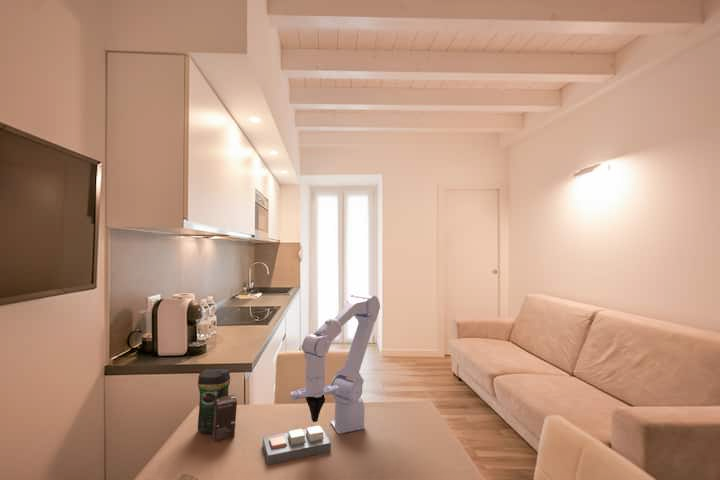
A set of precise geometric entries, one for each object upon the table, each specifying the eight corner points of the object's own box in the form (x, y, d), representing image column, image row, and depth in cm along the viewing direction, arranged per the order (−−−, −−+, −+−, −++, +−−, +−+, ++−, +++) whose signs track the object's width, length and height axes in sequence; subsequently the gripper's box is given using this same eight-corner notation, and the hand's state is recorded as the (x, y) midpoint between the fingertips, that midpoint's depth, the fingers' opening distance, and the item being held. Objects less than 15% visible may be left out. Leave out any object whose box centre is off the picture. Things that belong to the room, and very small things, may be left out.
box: (214, 442, 112) (216, 405, 110) (212, 433, 115) (214, 397, 114) (235, 437, 115) (237, 401, 113) (232, 428, 118) (234, 393, 117)
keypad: (321, 434, 117) (321, 426, 117) (330, 451, 108) (330, 442, 108) (262, 445, 110) (263, 437, 110) (267, 464, 101) (268, 455, 101)
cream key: (319, 435, 114) (319, 425, 114) (322, 441, 110) (323, 431, 110) (306, 437, 112) (306, 427, 112) (309, 444, 109) (309, 434, 109)
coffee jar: (233, 423, 123) (234, 366, 124) (223, 434, 115) (223, 373, 116) (205, 422, 124) (206, 366, 125) (193, 433, 116) (193, 373, 117)
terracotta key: (283, 446, 110) (283, 436, 110) (285, 453, 106) (286, 443, 106) (269, 448, 108) (269, 438, 108) (271, 456, 104) (271, 445, 104)
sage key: (301, 438, 112) (301, 428, 112) (304, 445, 108) (304, 435, 108) (288, 441, 110) (288, 431, 110) (291, 448, 106) (291, 437, 106)
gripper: (294, 383, 105) (293, 431, 105) (342, 376, 110) (341, 422, 110) (289, 374, 111) (288, 419, 111) (334, 368, 117) (334, 411, 117)
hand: (314, 420), depth 111 cm, fingers closed
